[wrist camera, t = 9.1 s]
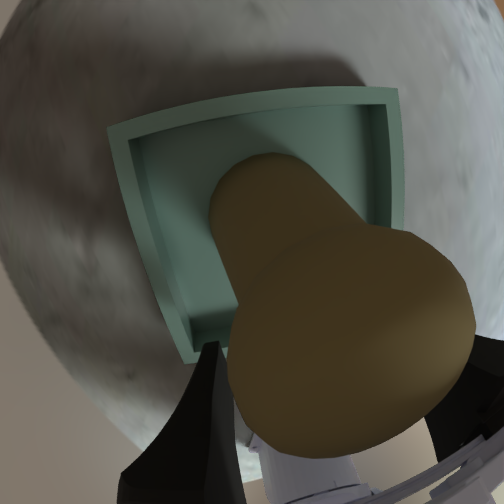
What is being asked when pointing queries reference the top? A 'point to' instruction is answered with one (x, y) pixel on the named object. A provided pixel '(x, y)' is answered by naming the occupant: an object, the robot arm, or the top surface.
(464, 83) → the top surface
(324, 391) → the cork
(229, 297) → the tray
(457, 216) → the top surface
